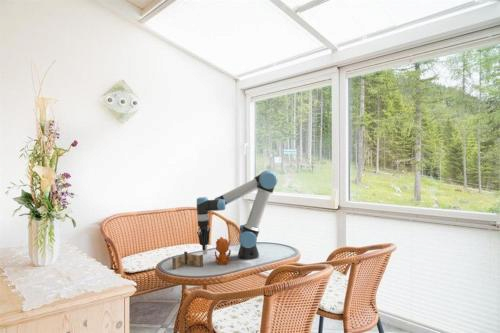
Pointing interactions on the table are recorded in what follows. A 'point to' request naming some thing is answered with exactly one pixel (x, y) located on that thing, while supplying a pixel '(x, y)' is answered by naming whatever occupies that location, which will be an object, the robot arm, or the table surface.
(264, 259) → the table surface
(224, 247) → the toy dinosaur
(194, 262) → the fence panel hinged
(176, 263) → the fence panel fixed
